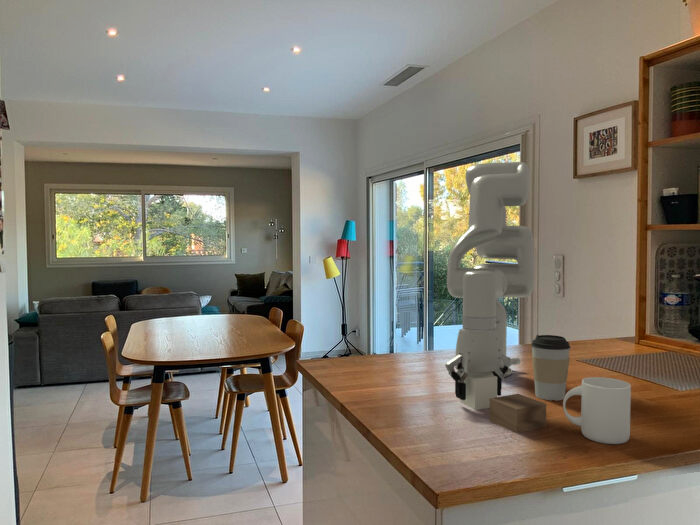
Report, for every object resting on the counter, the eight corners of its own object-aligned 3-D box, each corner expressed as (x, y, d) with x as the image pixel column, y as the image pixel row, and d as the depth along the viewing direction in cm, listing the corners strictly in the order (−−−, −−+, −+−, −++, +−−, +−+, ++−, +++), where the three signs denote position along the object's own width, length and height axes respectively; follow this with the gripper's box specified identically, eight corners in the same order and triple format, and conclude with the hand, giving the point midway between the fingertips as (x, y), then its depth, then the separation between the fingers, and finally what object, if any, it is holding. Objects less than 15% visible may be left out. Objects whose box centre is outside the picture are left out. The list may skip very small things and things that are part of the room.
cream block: (481, 399, 128) (482, 370, 128) (497, 406, 122) (497, 376, 122) (460, 402, 126) (460, 373, 125) (474, 409, 120) (475, 379, 120)
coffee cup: (568, 393, 133) (569, 333, 132) (571, 403, 124) (572, 340, 124) (530, 389, 136) (531, 331, 135) (530, 399, 127) (531, 337, 127)
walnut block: (517, 416, 116) (518, 393, 116) (546, 427, 109) (546, 403, 109) (489, 421, 113) (489, 398, 113) (516, 433, 106) (516, 409, 105)
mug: (565, 423, 111) (566, 373, 110) (630, 433, 105) (631, 380, 105) (559, 437, 103) (560, 382, 103) (629, 448, 97) (630, 391, 97)
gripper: (500, 319, 130) (499, 388, 130) (438, 323, 124) (438, 395, 124) (520, 323, 123) (519, 396, 123) (455, 328, 117) (455, 405, 117)
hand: (478, 396), depth 124 cm, fingers open, 9 cm apart
